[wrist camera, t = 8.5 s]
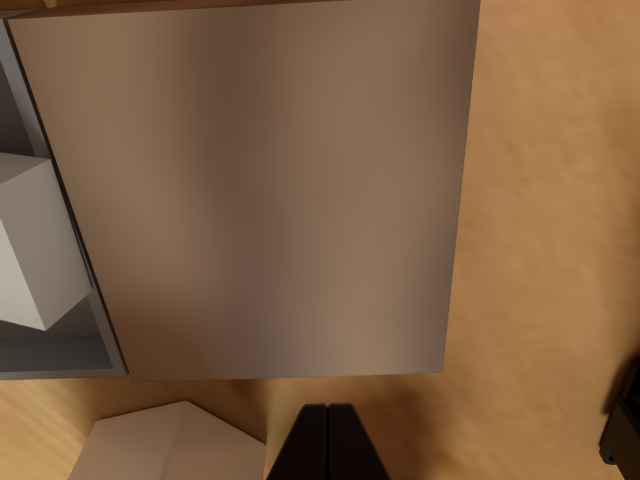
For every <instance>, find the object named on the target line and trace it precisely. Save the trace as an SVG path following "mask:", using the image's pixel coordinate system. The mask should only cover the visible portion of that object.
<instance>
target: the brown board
mask: <svg viewBox="0 0 640 480" xmlns="http://www.w3.org/2000/svg"><path fill="white" fill-rule="evenodd" d="M480 1H481V0H168V1H151V2H133V3H116V4H98V5H81V6H63V7H54V8H50V9H46V10H42V11H39V12H35V13H31V14H27V15H23V16H19V17H16V18H12V19H8V23H9V26H10V29H11V32H12V35H13V37H14V40H15V43H16V46H17V49H18V52H19V55H20V58H21V61H22V64H23V66H24V69H25V72H26V75H27V78H28V81H29V84H30V87H31V90H32V92H33V95H34V98H35V101H36V104H37V107H38V110H39V113H40V116H41V118H42V121H43V124H44V127H45V130H46V133H47V136H48V139H49V142H50V145H51V147H52V150H53V153H54V156H55V159H56V162H57V165H58V168H59V171H60V173H61V176H62V179H63V182H64V185H65V188H66V191H67V194H68V197H69V199H70V202H71V205H72V208H73V211H74V214H75V217H76V220H77V223H78V226H79V228H80V231H81V234H82V237H83V240H84V243H85V246H86V249H87V252H88V254H89V257H90V260H91V263H92V266H93V269H94V272H95V275H96V278H97V280H98V283H99V286H100V289H101V292H102V295H103V298H104V301H105V304H106V307H107V309H108V312H109V315H110V318H111V321H112V324H113V327H114V330H115V333H116V335H117V338H118V341H119V344H120V347H121V350H122V353H123V356H124V359H125V361H126V364H127V367H128V370H129V373H130V376H131V379H132V382H162V381H194V380H227V379H259V378H292V377H324V376H357V375H389V374H422V373H442V371H443V361H444V351H445V342H446V332H447V322H448V312H449V303H450V293H451V283H452V273H453V264H454V254H455V244H456V234H457V225H458V215H459V205H460V196H461V186H462V176H463V166H464V157H465V147H466V137H467V127H468V118H469V108H470V98H471V88H472V79H473V69H474V59H475V49H476V40H477V30H478V20H479V10H480Z"/></svg>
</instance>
